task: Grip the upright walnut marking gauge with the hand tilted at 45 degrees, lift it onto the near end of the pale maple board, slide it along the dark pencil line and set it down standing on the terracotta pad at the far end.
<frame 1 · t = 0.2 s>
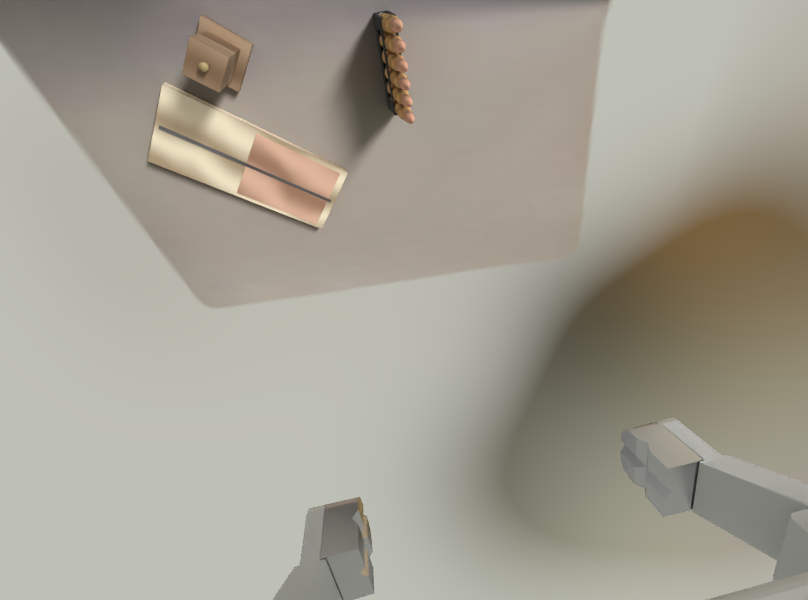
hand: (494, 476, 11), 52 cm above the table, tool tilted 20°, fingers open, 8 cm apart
maple board: (254, 163, 53), on the table
ammunition clip: (388, 62, 48), on the table
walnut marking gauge: (223, 54, 44), on the table
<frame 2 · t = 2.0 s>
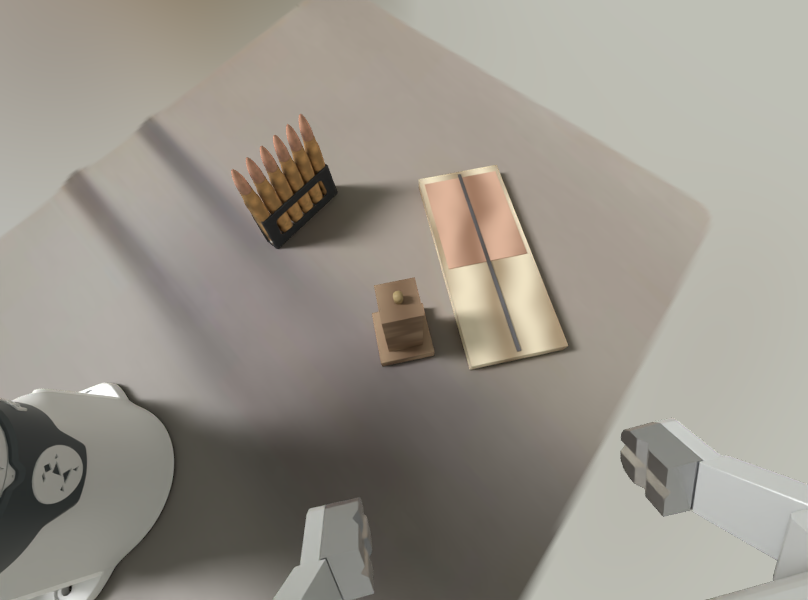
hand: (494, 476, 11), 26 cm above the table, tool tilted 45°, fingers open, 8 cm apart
maple board: (483, 260, 43), on the table
ammunition clip: (303, 217, 47), on the table
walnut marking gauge: (402, 336, 40), on the table
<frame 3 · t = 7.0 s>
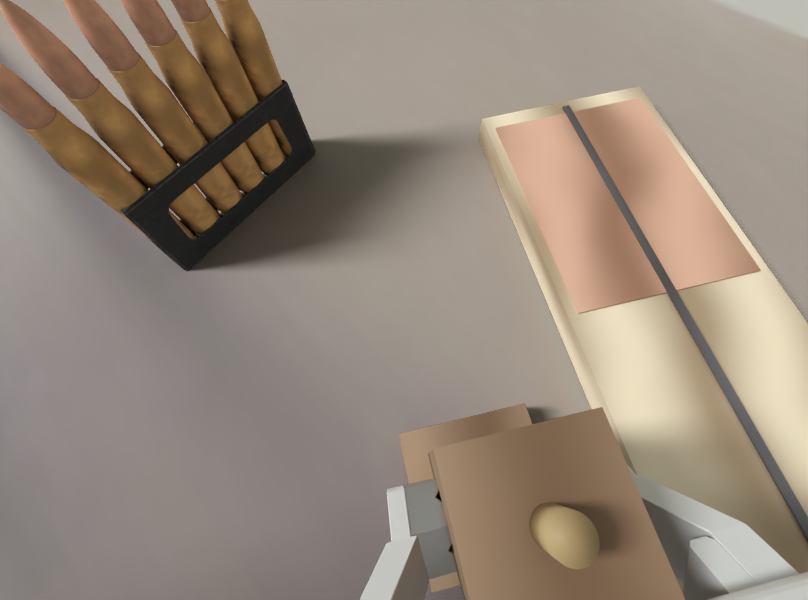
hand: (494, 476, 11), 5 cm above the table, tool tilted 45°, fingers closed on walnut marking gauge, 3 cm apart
maple board: (642, 287, 19), on the table
ammunition clip: (247, 203, 23), on the table
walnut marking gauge: (477, 487, 16), on the table, touching gripper
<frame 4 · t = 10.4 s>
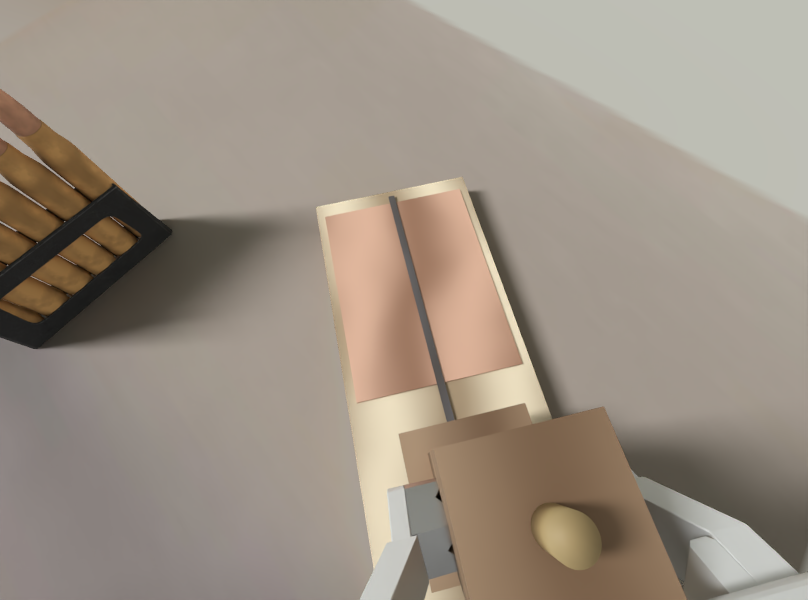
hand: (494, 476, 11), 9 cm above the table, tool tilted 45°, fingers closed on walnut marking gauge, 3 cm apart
maple board: (434, 371, 21), on the table
ammunition clip: (103, 281, 25), on the table
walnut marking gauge: (477, 487, 16), point 3 cm above the table, touching gripper
when the fingers open (8 cm above the table, at t = 13.8 s): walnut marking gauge stays where it is, resting on maple board.
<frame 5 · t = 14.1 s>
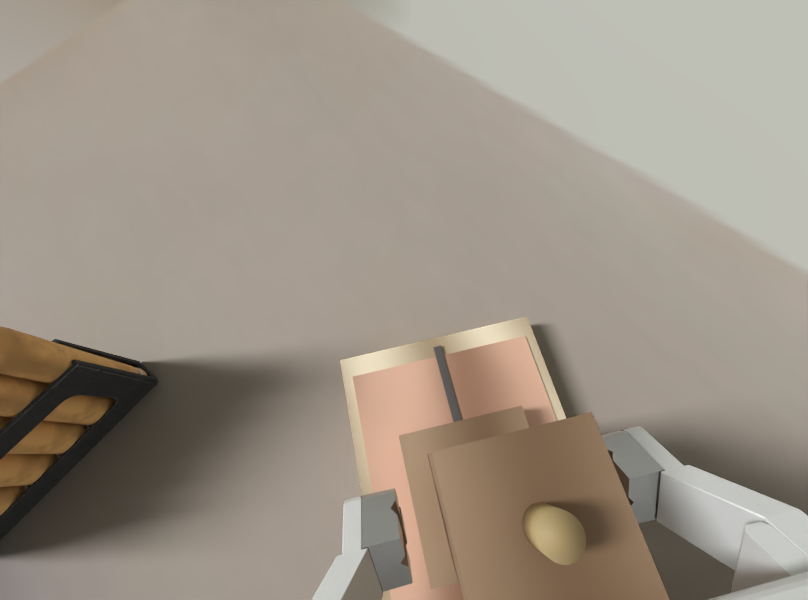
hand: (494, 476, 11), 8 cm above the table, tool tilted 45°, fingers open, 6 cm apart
ammunition clip: (70, 451, 20), on the table
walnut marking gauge: (475, 487, 16), point 2 cm above the table, touching maple board
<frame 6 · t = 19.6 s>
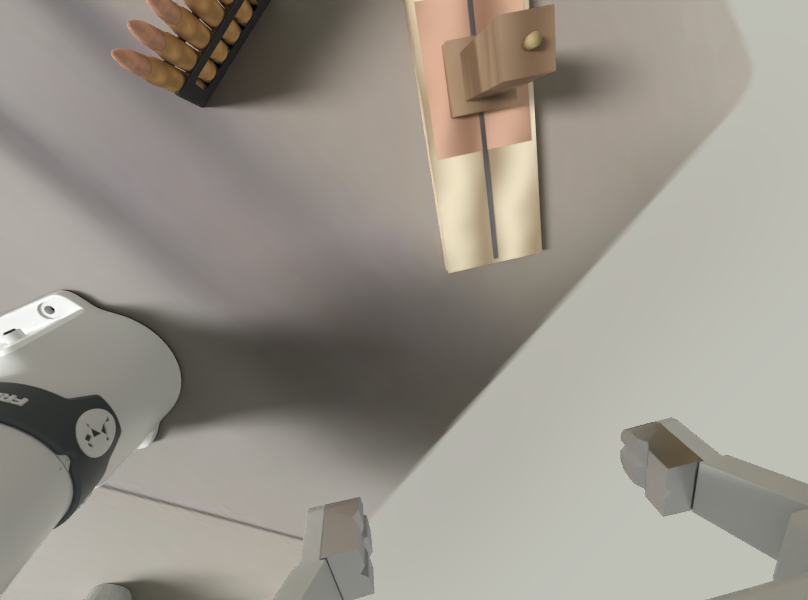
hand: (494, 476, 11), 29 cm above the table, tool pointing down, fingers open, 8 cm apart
maple board: (478, 139, 35), on the table
house plant: (100, 592, 50), on the table
ammunition clip: (227, 45, 30), on the table
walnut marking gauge: (477, 77, 32), point 2 cm above the table, touching maple board
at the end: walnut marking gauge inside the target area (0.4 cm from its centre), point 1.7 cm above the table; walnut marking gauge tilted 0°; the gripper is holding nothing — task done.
